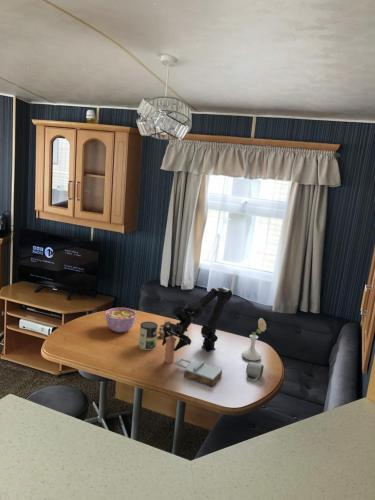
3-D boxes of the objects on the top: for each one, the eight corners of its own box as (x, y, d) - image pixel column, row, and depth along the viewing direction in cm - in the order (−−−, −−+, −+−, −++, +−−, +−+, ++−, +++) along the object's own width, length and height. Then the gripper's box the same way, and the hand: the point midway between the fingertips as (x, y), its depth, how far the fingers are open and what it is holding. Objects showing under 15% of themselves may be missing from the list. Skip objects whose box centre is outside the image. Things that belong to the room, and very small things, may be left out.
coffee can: (157, 344, 243) (159, 322, 240) (153, 351, 233) (154, 329, 230) (141, 341, 245) (143, 320, 242) (136, 348, 235) (138, 326, 232)
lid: (171, 365, 211) (172, 361, 211) (182, 357, 221) (182, 353, 221) (212, 380, 201) (213, 375, 200) (221, 370, 211) (222, 366, 210)
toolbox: (184, 377, 208) (185, 370, 207) (194, 367, 219) (195, 361, 218) (212, 387, 201) (212, 380, 200) (221, 377, 212) (221, 370, 211)
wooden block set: (183, 325, 262) (162, 331, 250) (182, 333, 264) (161, 339, 251) (166, 316, 274) (145, 322, 262) (165, 324, 275) (145, 330, 263)
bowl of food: (110, 322, 269) (111, 305, 267) (138, 326, 267) (139, 310, 265) (99, 333, 250) (100, 316, 248) (130, 338, 248) (131, 321, 245)
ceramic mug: (248, 371, 221) (250, 358, 219) (262, 375, 218) (264, 362, 216) (243, 379, 212) (244, 366, 210) (258, 384, 208) (259, 371, 207)
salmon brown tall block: (168, 358, 226) (170, 336, 223) (174, 361, 224) (176, 338, 221) (163, 361, 223) (165, 337, 220) (168, 363, 220) (171, 340, 218)
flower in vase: (248, 363, 230) (254, 323, 224) (237, 354, 239) (242, 315, 234) (266, 360, 236) (272, 321, 230) (255, 351, 245) (260, 313, 240)
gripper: (165, 312, 227) (150, 335, 221) (189, 323, 215) (173, 347, 209) (174, 322, 234) (159, 344, 229) (198, 333, 222) (182, 356, 217)
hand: (168, 347), depth 221 cm, fingers open, 9 cm apart
